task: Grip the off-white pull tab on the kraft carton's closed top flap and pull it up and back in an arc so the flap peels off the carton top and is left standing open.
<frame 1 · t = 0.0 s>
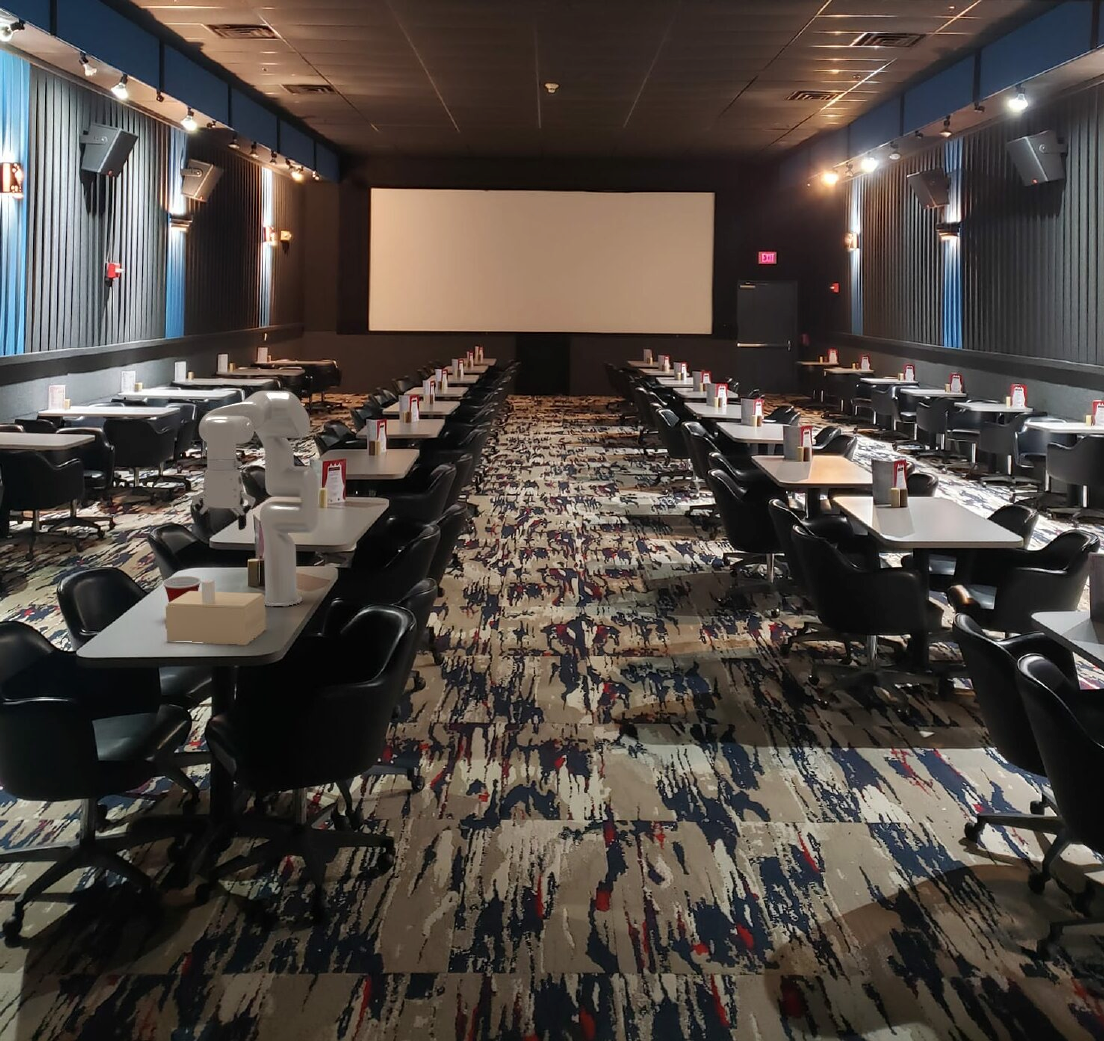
hand: (224, 528, 315), 31 cm above the table, tool pointing down, fingers open, 9 cm apart
plastic cup: (183, 621, 342), on the table
carton: (217, 635, 326), on the table
flap: (215, 588, 323), point 13 cm above the table, hinge at 0.0°
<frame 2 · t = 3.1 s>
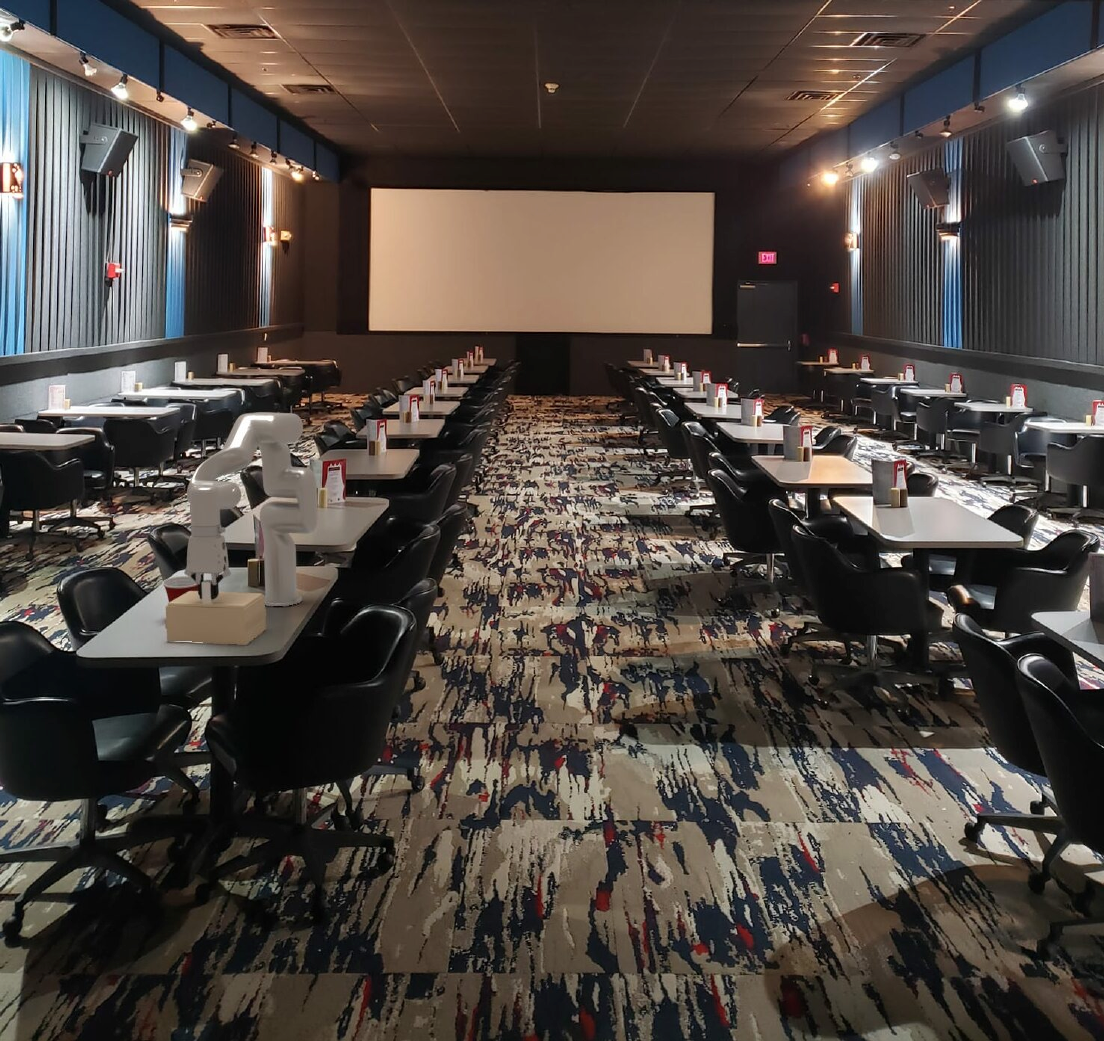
hand: (208, 597, 318), 12 cm above the table, tool pointing down, fingers closed on flap, 2 cm apart
flap: (215, 588, 323), point 13 cm above the table, hinge at 0.0°, touching gripper
everything else where it was.
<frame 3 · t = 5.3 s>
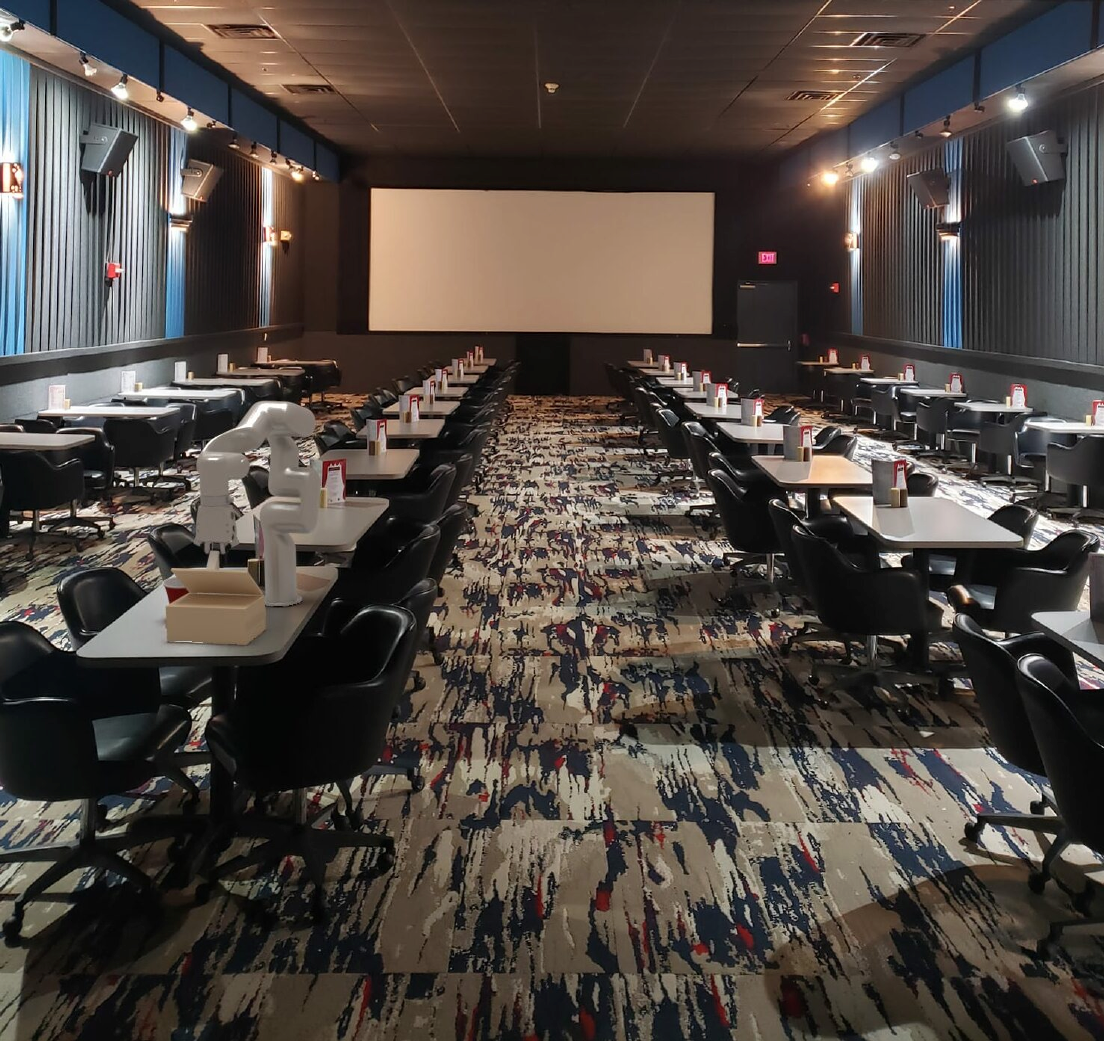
hand: (217, 566, 324), 19 cm above the table, tool pointing down, fingers closed on flap, 2 cm apart
flap: (219, 572, 326), point 17 cm above the table, hinge at 37.3°, touching gripper
everything else where it was.
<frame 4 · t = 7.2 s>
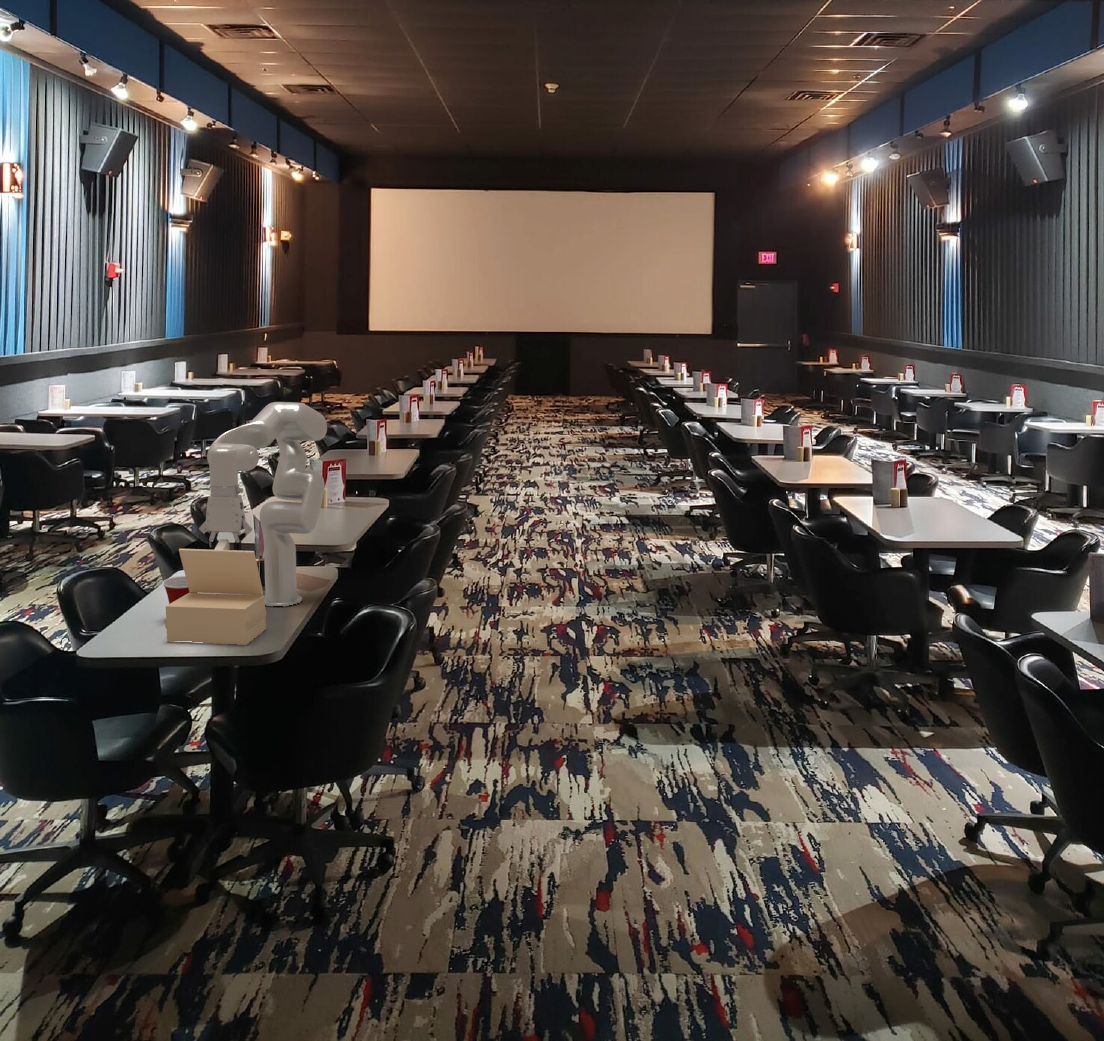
hand: (226, 554, 331), 21 cm above the table, tool pointing down, fingers open, 5 cm apart
flap: (224, 565, 330), point 18 cm above the table, hinge at 65.2°
everything else where it was.
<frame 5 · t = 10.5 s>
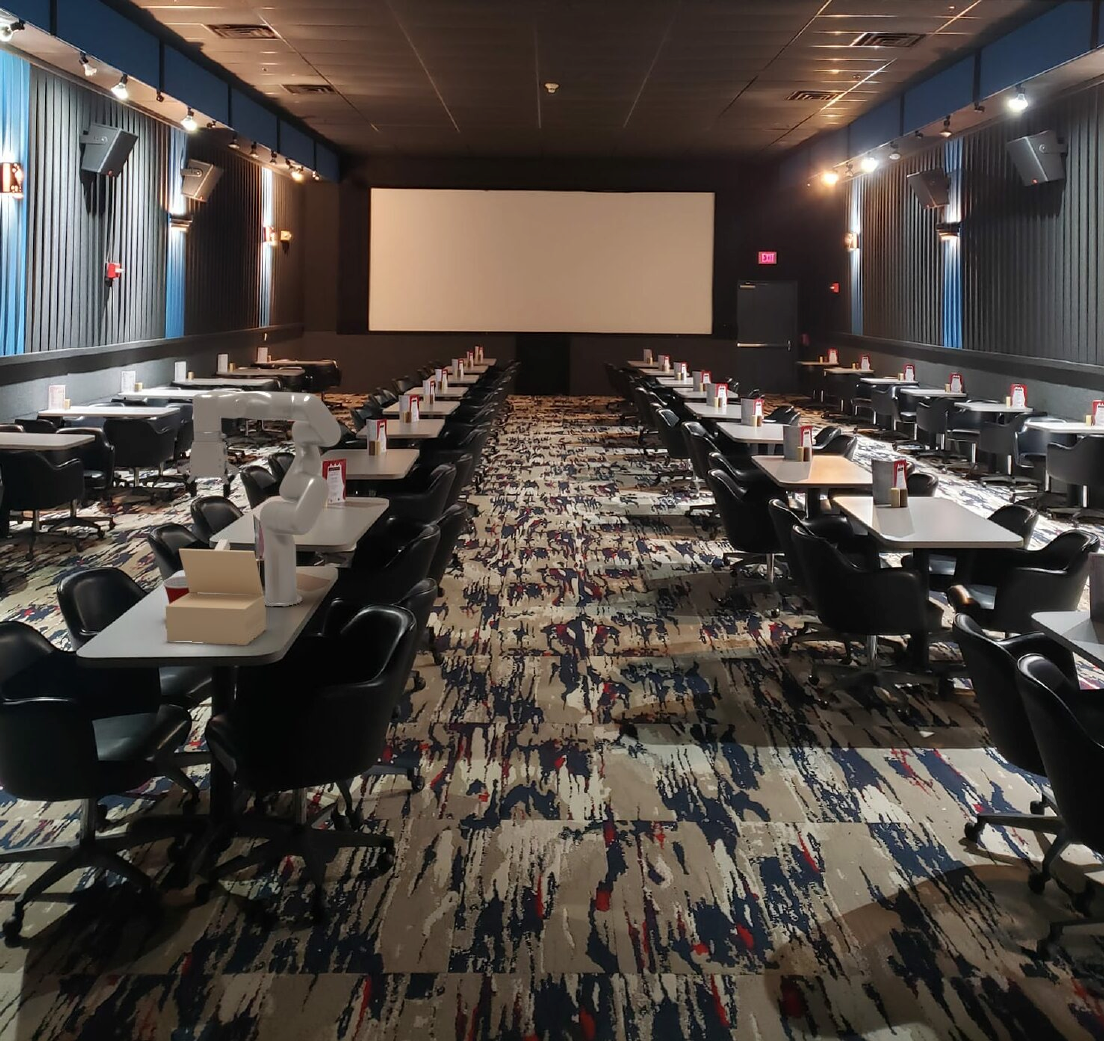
hand: (210, 497, 336), 36 cm above the table, tool pointing down, fingers open, 9 cm apart
nothing on the table moved.
at the end: flap at +65° (first picture: +0°); the gripper is holding nothing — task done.
